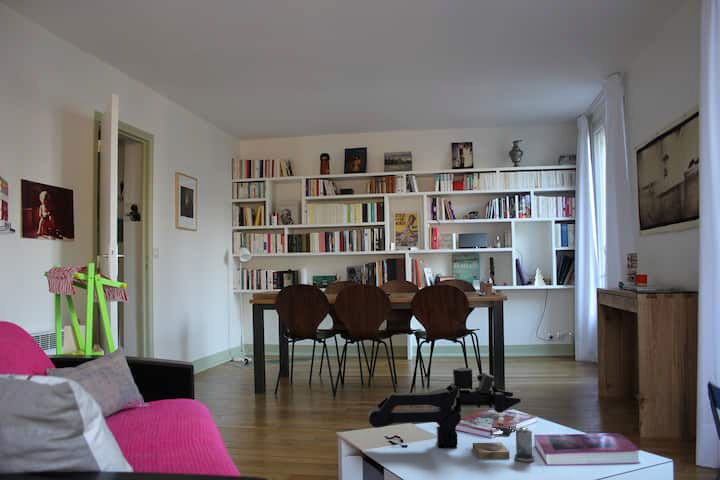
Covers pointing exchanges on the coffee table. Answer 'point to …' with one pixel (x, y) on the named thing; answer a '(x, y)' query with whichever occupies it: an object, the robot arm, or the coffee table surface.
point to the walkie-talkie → (503, 425)
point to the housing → (524, 445)
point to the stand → (490, 450)
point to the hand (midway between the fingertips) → (516, 397)
